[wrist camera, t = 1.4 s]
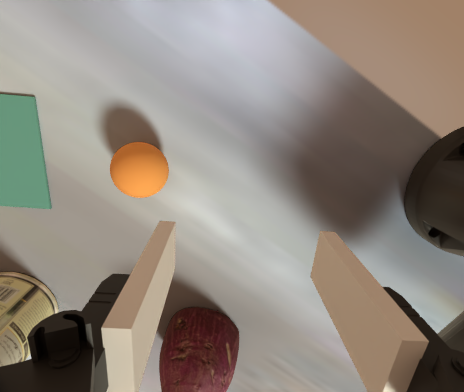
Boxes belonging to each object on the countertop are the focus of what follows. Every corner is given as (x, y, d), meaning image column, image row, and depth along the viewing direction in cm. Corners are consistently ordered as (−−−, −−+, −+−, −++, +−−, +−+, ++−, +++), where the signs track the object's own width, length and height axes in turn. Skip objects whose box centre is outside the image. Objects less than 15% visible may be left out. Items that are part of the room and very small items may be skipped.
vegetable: (177, 343, 42) (122, 471, 29) (167, 295, 37) (96, 423, 24) (243, 356, 40) (215, 501, 27) (241, 307, 35) (207, 454, 22)
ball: (173, 140, 28) (161, 149, 23) (172, 189, 30) (162, 207, 25) (120, 136, 28) (97, 144, 23) (123, 186, 30) (102, 203, 25)
